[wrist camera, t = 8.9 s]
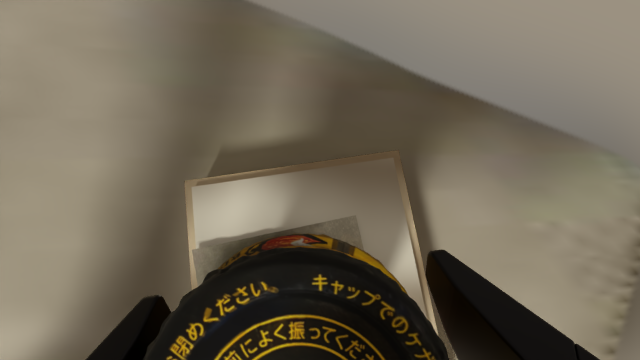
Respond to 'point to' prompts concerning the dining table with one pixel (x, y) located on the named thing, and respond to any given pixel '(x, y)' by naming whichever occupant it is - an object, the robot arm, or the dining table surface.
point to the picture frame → (315, 210)
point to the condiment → (296, 303)
